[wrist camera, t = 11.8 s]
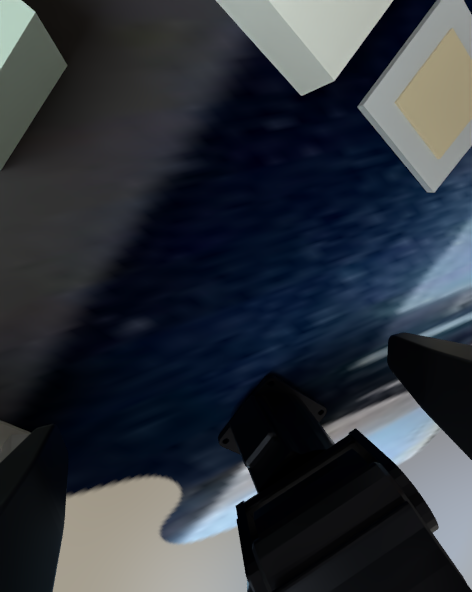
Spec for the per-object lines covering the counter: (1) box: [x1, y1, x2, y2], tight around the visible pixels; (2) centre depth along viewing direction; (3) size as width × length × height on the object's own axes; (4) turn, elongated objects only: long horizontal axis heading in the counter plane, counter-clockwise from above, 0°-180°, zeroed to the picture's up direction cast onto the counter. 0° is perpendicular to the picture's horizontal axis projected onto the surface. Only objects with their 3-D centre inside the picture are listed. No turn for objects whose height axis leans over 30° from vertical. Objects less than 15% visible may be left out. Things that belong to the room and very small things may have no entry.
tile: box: [357, 0, 472, 193], centre depth 22 cm, size 8×8×1 cm
